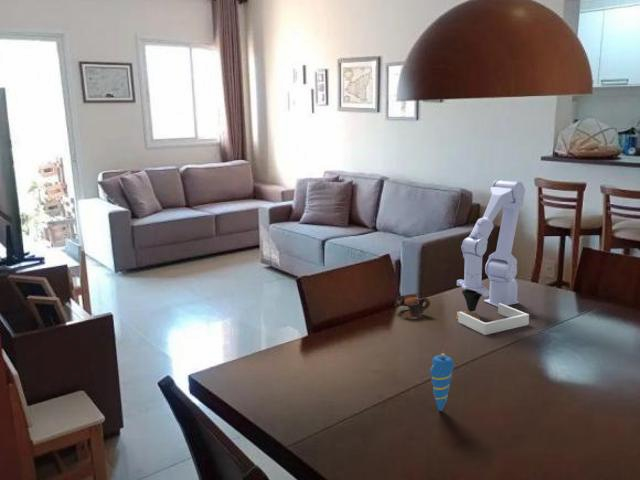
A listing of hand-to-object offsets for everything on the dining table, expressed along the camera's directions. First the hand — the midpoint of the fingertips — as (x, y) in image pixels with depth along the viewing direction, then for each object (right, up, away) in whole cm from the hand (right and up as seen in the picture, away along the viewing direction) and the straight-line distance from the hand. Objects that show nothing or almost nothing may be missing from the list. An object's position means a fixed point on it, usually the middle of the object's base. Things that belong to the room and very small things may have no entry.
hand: (471, 310), depth 195 cm
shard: (-1, -3, -4) cm, 5 cm away
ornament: (-24, -16, -62) cm, 69 cm away
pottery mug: (-20, -2, +2) cm, 20 cm away
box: (+4, -3, -9) cm, 10 cm away
